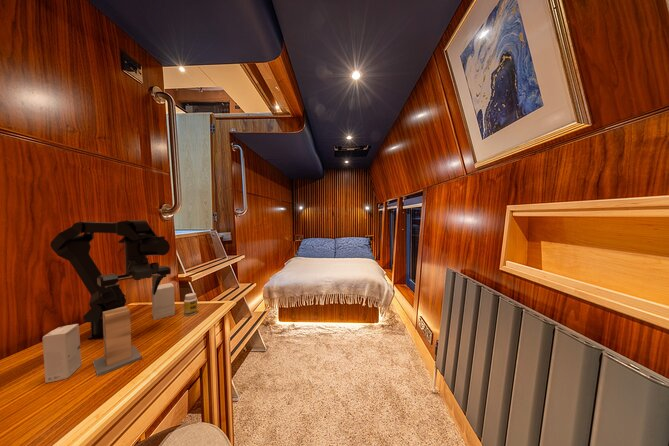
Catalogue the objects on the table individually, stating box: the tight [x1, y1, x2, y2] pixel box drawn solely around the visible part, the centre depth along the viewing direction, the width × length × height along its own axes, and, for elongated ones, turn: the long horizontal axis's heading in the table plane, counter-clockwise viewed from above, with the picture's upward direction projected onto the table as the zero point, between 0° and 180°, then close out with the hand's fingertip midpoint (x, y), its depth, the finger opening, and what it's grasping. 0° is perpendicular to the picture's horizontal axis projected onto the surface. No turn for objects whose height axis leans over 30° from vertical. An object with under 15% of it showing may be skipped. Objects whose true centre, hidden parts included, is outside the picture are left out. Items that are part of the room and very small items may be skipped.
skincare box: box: [42, 323, 82, 384], centre depth 59 cm, size 6×4×12 cm
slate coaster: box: [92, 345, 143, 378], centre depth 64 cm, size 9×9×1 cm
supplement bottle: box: [183, 292, 198, 317], centre depth 95 cm, size 5×5×8 cm
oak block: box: [103, 305, 132, 366], centre depth 64 cm, size 5×5×14 cm
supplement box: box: [150, 282, 176, 321], centre depth 94 cm, size 7×7×13 cm
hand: (137, 298), depth 78 cm, fingers open, 9 cm apart
